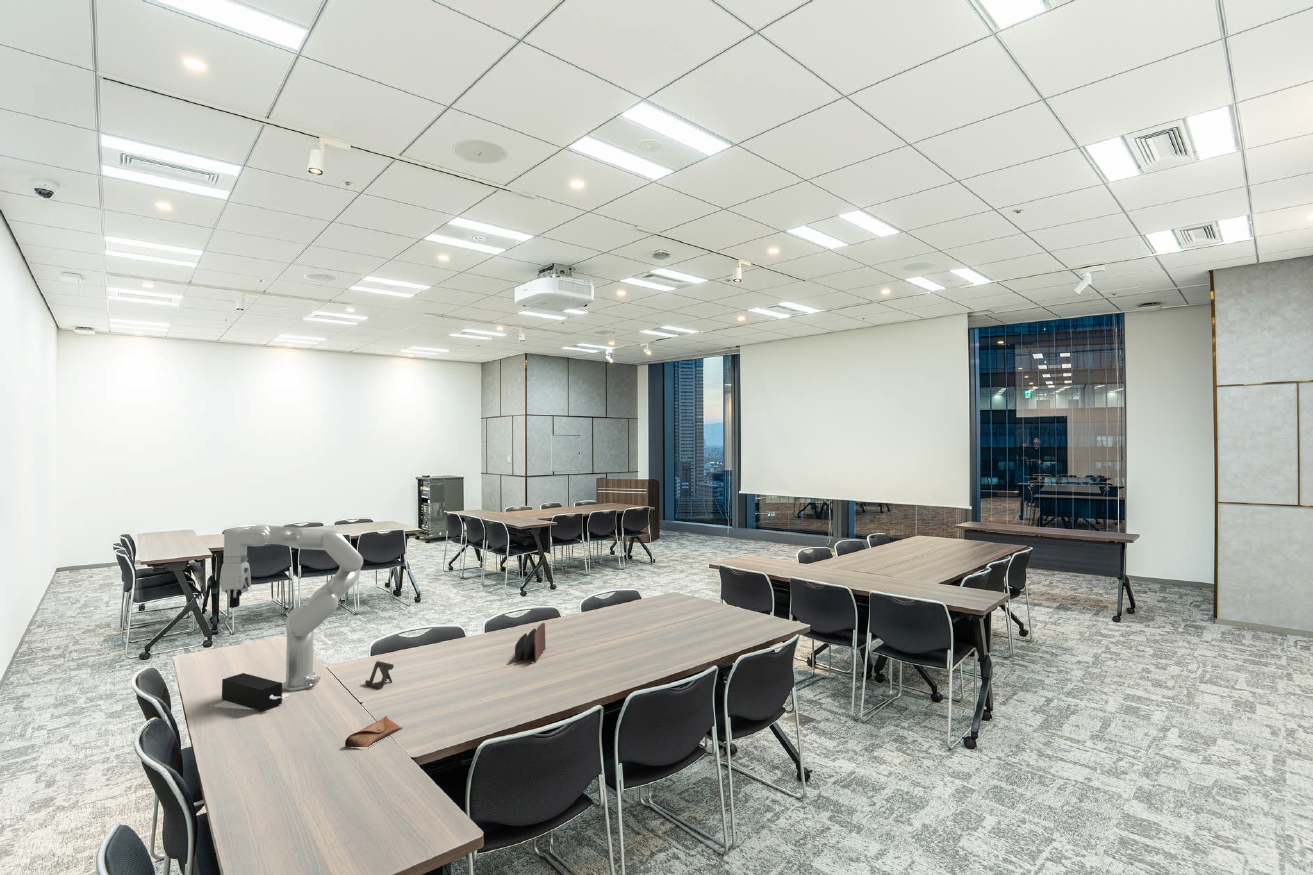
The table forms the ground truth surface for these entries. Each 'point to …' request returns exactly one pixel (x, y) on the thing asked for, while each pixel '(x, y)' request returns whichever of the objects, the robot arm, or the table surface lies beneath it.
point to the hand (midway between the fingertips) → (234, 606)
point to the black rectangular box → (252, 691)
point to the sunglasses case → (372, 733)
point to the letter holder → (531, 645)
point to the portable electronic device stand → (384, 671)
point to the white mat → (232, 705)
